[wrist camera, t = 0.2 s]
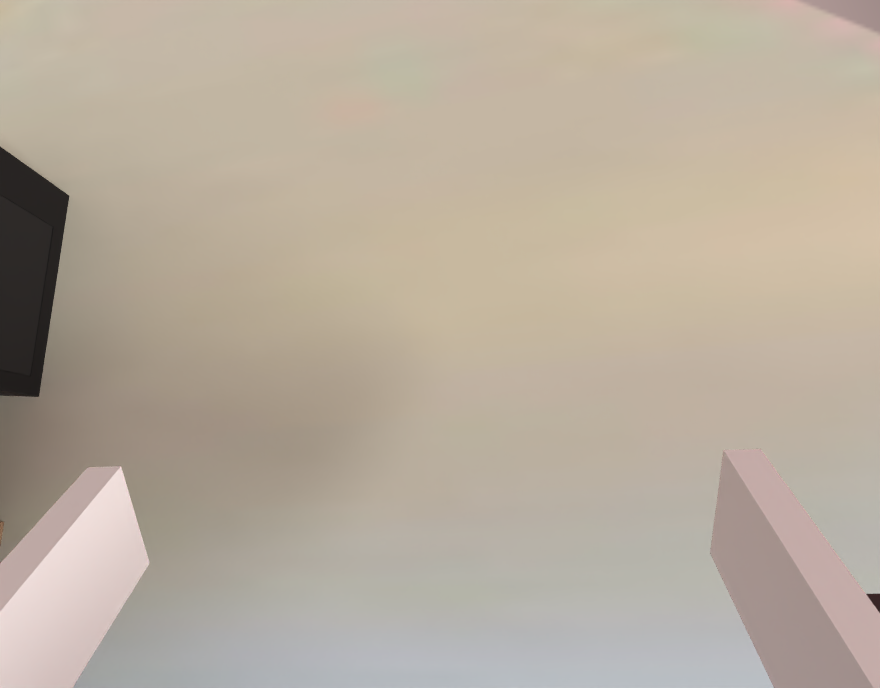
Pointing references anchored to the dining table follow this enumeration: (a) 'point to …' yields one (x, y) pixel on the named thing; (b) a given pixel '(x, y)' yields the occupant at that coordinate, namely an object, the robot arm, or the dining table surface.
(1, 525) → the tower base
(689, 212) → the dining table surface
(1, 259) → the digital camera
